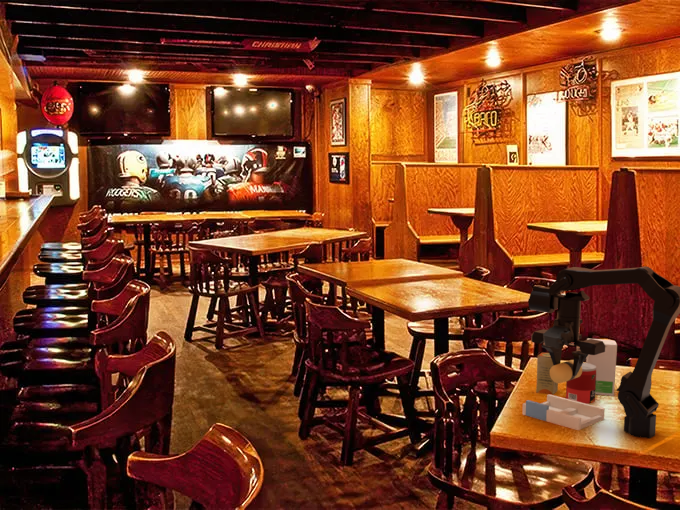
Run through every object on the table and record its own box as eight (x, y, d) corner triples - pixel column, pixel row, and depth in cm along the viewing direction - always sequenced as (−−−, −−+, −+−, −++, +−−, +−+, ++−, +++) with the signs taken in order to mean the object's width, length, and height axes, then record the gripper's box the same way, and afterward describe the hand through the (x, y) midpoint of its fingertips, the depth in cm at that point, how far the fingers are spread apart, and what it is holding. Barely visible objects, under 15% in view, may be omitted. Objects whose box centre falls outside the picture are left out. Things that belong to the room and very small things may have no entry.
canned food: (596, 408, 215) (598, 369, 213) (566, 406, 216) (568, 368, 215) (593, 399, 222) (594, 362, 221) (564, 398, 224) (565, 361, 223)
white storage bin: (603, 423, 202) (604, 404, 202) (578, 434, 194) (579, 415, 193) (548, 408, 215) (549, 390, 214) (522, 418, 206) (522, 399, 206)
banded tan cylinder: (565, 375, 207) (566, 358, 206) (582, 379, 203) (582, 361, 203) (549, 381, 202) (549, 363, 201) (565, 385, 198) (566, 366, 198)
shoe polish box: (536, 395, 227) (537, 355, 225) (541, 391, 231) (542, 352, 229) (553, 398, 224) (554, 357, 223) (557, 393, 228) (558, 354, 227)
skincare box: (585, 394, 228) (587, 342, 226) (584, 387, 234) (585, 337, 232) (615, 396, 226) (617, 344, 224) (613, 389, 232) (615, 339, 230)
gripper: (520, 313, 202) (518, 371, 204) (584, 326, 188) (581, 387, 190) (544, 308, 209) (541, 364, 211) (607, 319, 196) (604, 379, 198)
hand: (565, 373), depth 202 cm, fingers closed on banded tan cylinder, 5 cm apart
